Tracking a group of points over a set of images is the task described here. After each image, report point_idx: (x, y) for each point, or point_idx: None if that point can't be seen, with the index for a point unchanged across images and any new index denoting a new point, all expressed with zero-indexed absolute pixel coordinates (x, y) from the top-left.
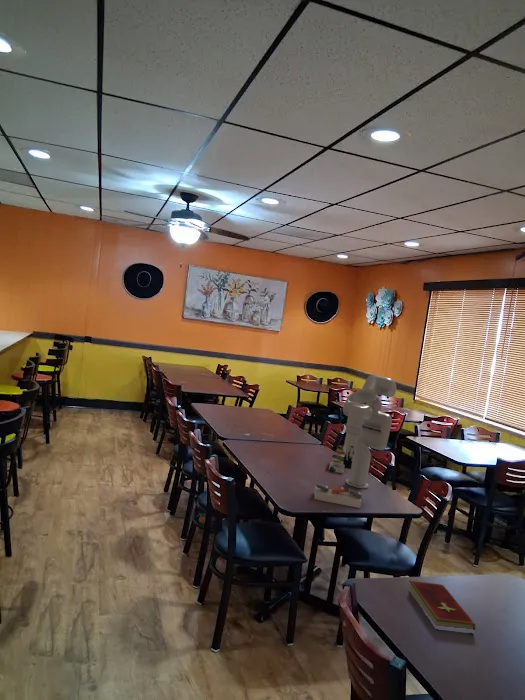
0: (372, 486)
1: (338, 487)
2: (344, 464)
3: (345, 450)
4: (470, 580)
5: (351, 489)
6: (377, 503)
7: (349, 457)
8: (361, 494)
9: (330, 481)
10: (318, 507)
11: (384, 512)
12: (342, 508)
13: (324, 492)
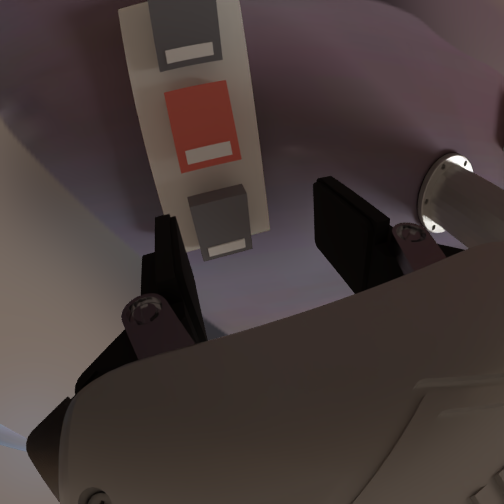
0: (444, 239)
1: (223, 125)
2: (314, 193)
3: (75, 461)
4: (2, 425)
5: (232, 207)
6: (290, 281)
7: (66, 400)
8: (222, 256)
9: (438, 91)
10: (22, 73)
11: (204, 315)
12: (97, 168)
13: (152, 50)
